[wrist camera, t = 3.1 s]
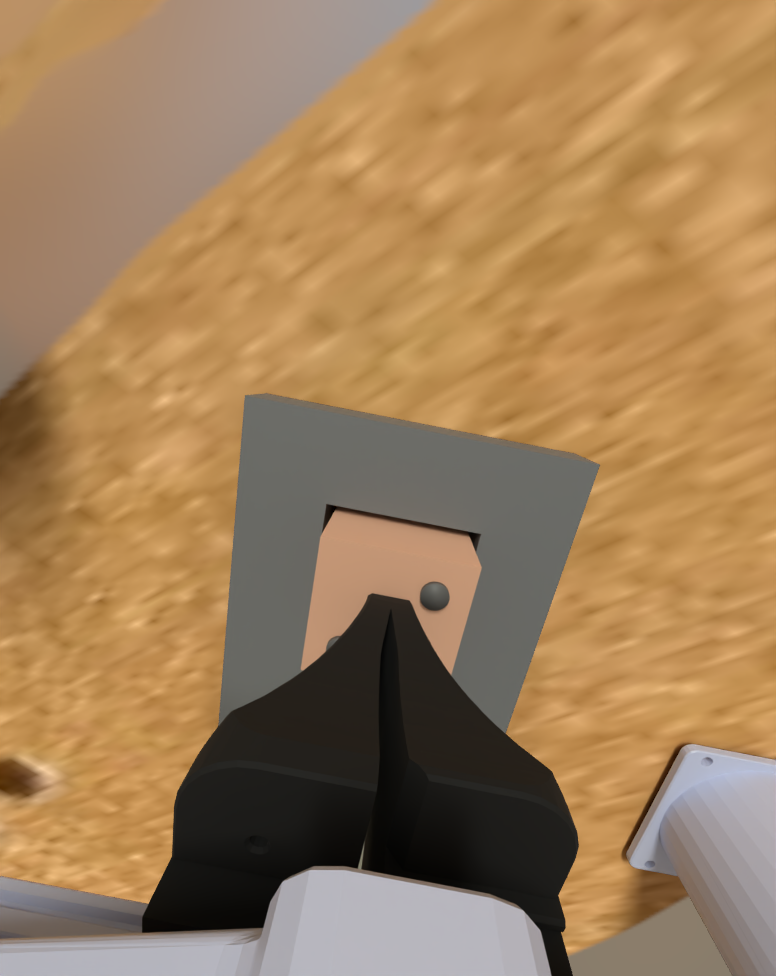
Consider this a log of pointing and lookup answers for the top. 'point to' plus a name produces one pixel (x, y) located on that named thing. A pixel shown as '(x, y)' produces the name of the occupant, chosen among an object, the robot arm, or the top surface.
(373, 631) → the robot arm
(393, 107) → the top surface
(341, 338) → the top surface
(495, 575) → the keypad board
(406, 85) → the top surface
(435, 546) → the key three
